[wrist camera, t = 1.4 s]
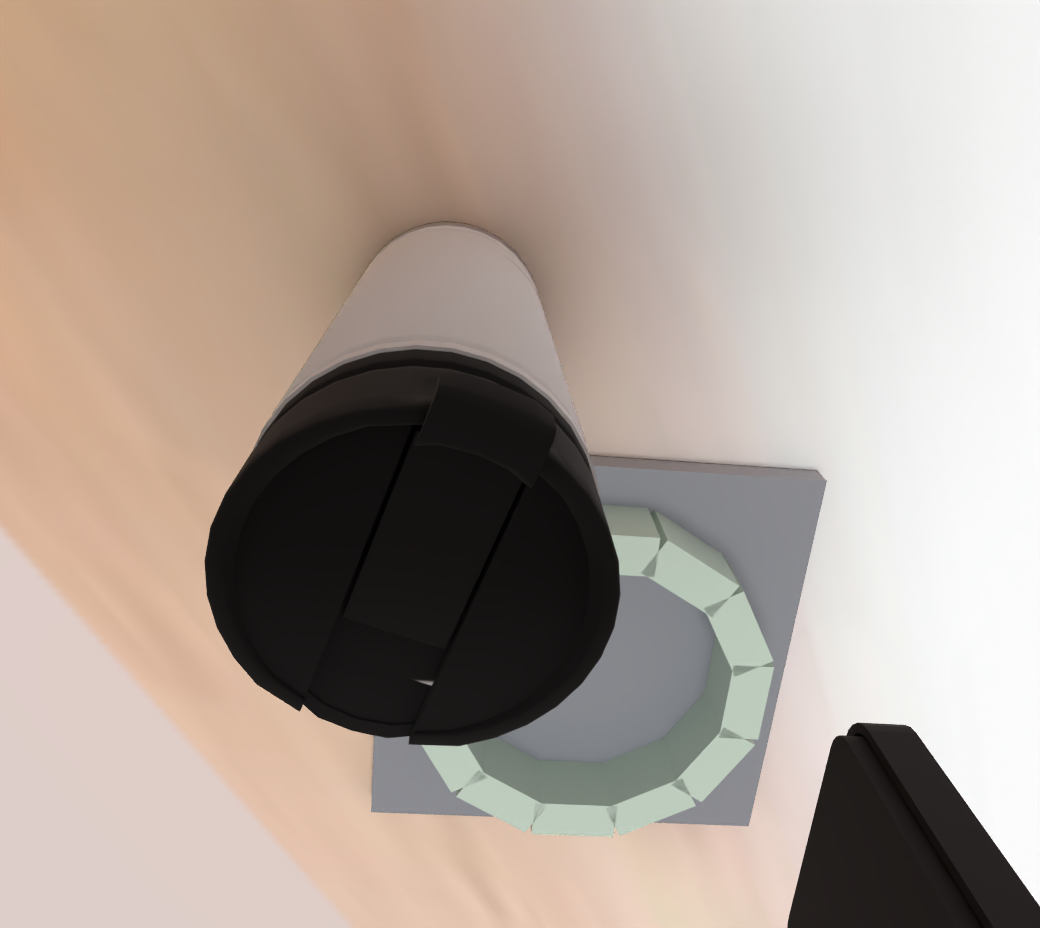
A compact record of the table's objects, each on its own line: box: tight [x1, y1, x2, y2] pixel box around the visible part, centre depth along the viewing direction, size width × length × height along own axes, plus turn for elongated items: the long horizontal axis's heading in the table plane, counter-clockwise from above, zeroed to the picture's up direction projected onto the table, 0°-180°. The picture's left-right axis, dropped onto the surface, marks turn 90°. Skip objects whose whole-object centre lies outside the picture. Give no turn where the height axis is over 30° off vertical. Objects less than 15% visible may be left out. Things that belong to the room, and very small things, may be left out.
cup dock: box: [371, 456, 826, 837], centre depth 35 cm, size 16×16×4 cm
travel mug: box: [205, 222, 621, 746], centre depth 22 cm, size 6×7×20 cm
